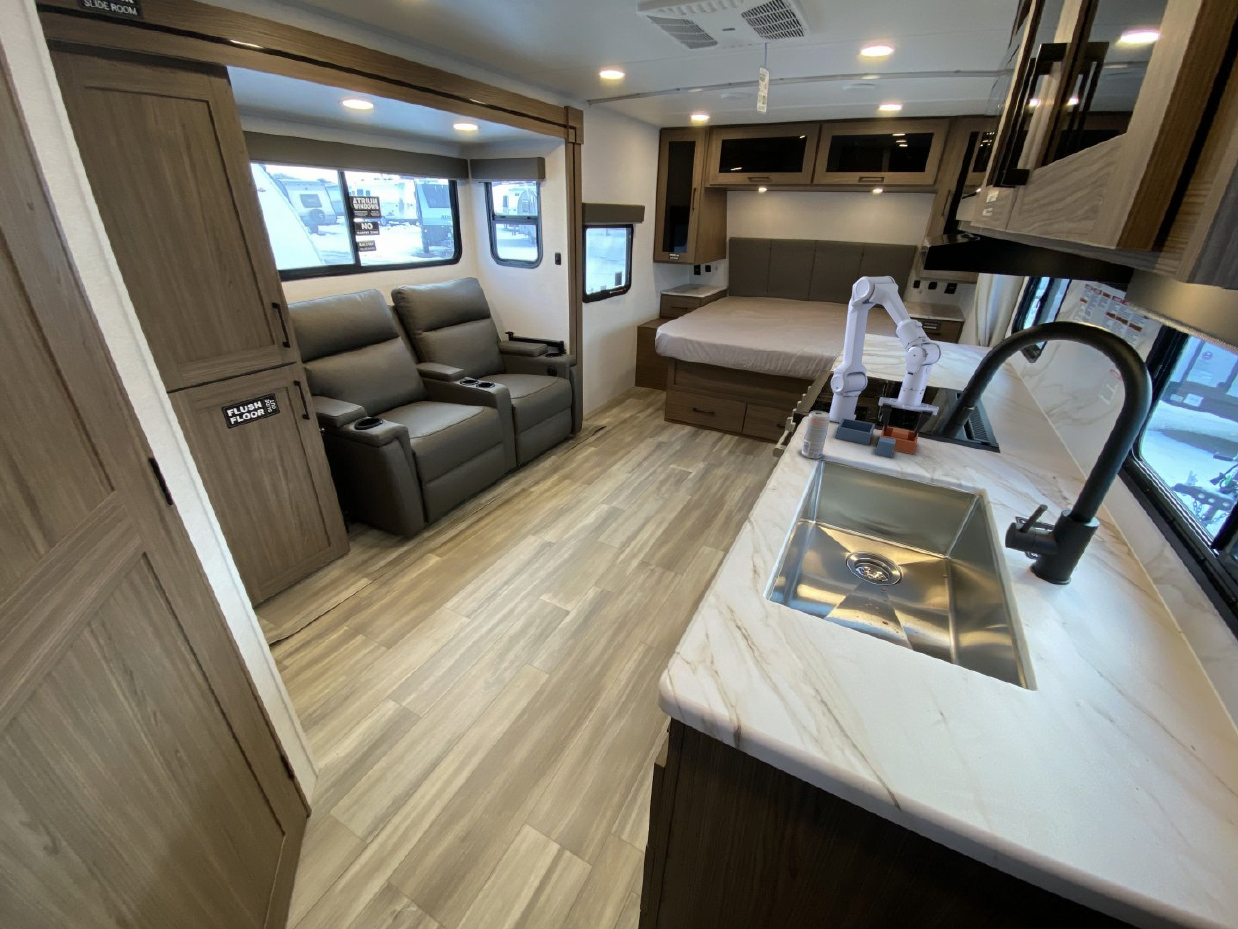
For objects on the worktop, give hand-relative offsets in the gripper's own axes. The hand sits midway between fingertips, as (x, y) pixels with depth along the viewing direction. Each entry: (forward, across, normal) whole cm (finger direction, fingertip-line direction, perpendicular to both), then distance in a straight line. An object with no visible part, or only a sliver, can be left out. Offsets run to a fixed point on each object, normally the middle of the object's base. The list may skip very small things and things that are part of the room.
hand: (899, 433), depth 141 cm
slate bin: (+4, -11, 0) cm, 12 cm away
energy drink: (+4, -19, -21) cm, 29 cm away
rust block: (+3, 0, 0) cm, 3 cm away
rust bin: (+4, 0, 0) cm, 4 cm away
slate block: (+4, -2, -8) cm, 10 cm away
